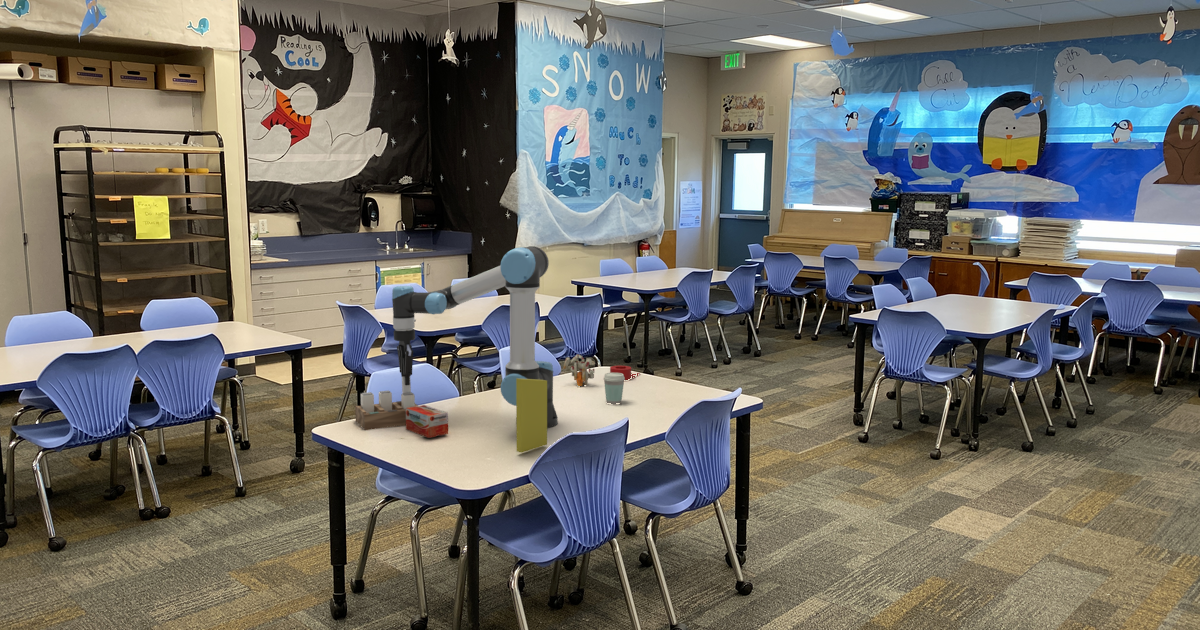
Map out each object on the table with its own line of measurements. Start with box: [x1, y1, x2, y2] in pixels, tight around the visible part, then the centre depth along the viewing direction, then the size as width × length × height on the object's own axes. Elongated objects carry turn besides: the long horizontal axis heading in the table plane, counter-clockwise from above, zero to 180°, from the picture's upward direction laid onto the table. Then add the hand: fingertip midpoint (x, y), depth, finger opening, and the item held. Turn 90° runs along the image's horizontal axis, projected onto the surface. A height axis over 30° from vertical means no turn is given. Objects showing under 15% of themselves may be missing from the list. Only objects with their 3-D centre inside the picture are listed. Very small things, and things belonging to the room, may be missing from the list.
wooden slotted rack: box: [354, 400, 419, 431], centre depth 310 cm, size 14×20×6 cm
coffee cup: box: [603, 372, 625, 404], centre depth 340 cm, size 8×8×12 cm
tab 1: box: [360, 391, 375, 413], centre depth 309 cm, size 3×4×7 cm
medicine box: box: [405, 404, 449, 439], centre depth 298 cm, size 15×8×8 cm, turn 45°
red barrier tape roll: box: [609, 365, 641, 380], centre depth 385 cm, size 18×9×7 cm, turn 140°
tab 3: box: [400, 391, 416, 409], centre depth 310 cm, size 3×4×7 cm
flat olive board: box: [515, 378, 548, 454], centre depth 279 cm, size 12×2×24 cm, turn 141°
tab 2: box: [378, 389, 393, 411], centre depth 312 cm, size 3×4×7 cm
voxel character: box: [562, 354, 596, 387], centre depth 366 cm, size 11×10×15 cm
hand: (406, 393), depth 312 cm, fingers closed
